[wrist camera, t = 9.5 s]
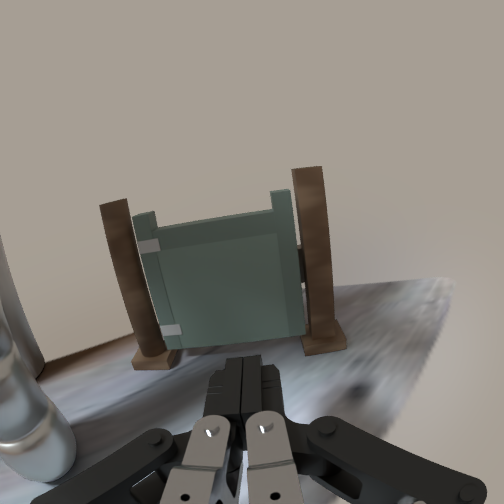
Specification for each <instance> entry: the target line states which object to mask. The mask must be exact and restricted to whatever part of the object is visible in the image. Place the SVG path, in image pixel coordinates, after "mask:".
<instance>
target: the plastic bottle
mask: <svg viewBox="0 0 504 504" xmlns="http://www.w3.org/2000/svg"><path fill="white" fill-rule="evenodd" d="M0 457H1V459H2V460H3V461H4V462H5V463H6V465H8V466H9V467H10V468H11V469H12V470H14V471H15V472H16V473H18V474H19V475H20V476H22V477H23V478H25V479H28V480H31V481H36V482H51V481H55V480H57V479H59V478H61V477H62V476H64V475H65V474H66V473H67V472H68V471H69V470H70V468H71V467H72V465H73V463H74V461H75V457H76V440H75V436H74V434H73V432H72V430H71V428H70V425H69V423H68V421H67V419H66V418H65V416H64V415H63V414H62V413H61V412H60V410H59V409H58V408H57V407H56V405H55V404H54V403H53V402H52V401H51V400H50V399H49V398H48V397H47V396H46V394H44V392H43V391H42V389H41V388H40V386H39V385H38V383H37V382H36V380H35V379H34V377H33V375H32V374H31V372H30V371H29V369H28V367H27V366H26V364H25V362H24V361H23V359H22V357H21V355H20V353H19V351H18V348H17V346H16V344H15V342H14V341H13V339H12V333H11V331H10V328H9V325H8V323H7V320H6V317H5V314H4V311H3V307H2V303H1V299H0Z"/></svg>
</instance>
